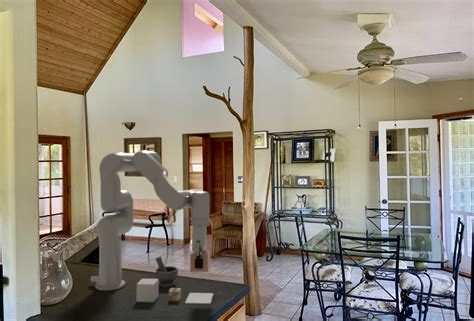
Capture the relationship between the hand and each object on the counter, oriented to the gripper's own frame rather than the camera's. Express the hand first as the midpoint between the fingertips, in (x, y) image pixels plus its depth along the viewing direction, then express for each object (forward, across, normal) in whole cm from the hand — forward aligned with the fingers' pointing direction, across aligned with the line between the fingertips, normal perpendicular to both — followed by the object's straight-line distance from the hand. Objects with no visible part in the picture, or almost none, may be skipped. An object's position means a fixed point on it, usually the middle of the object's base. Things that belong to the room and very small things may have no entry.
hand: (200, 265), depth 149 cm
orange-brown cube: (+2, 0, 0) cm, 2 cm away
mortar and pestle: (+14, -17, -18) cm, 28 cm away
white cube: (+13, +1, -21) cm, 25 cm away
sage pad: (+14, 0, 0) cm, 14 cm away
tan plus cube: (+14, +1, -10) cm, 17 cm away
